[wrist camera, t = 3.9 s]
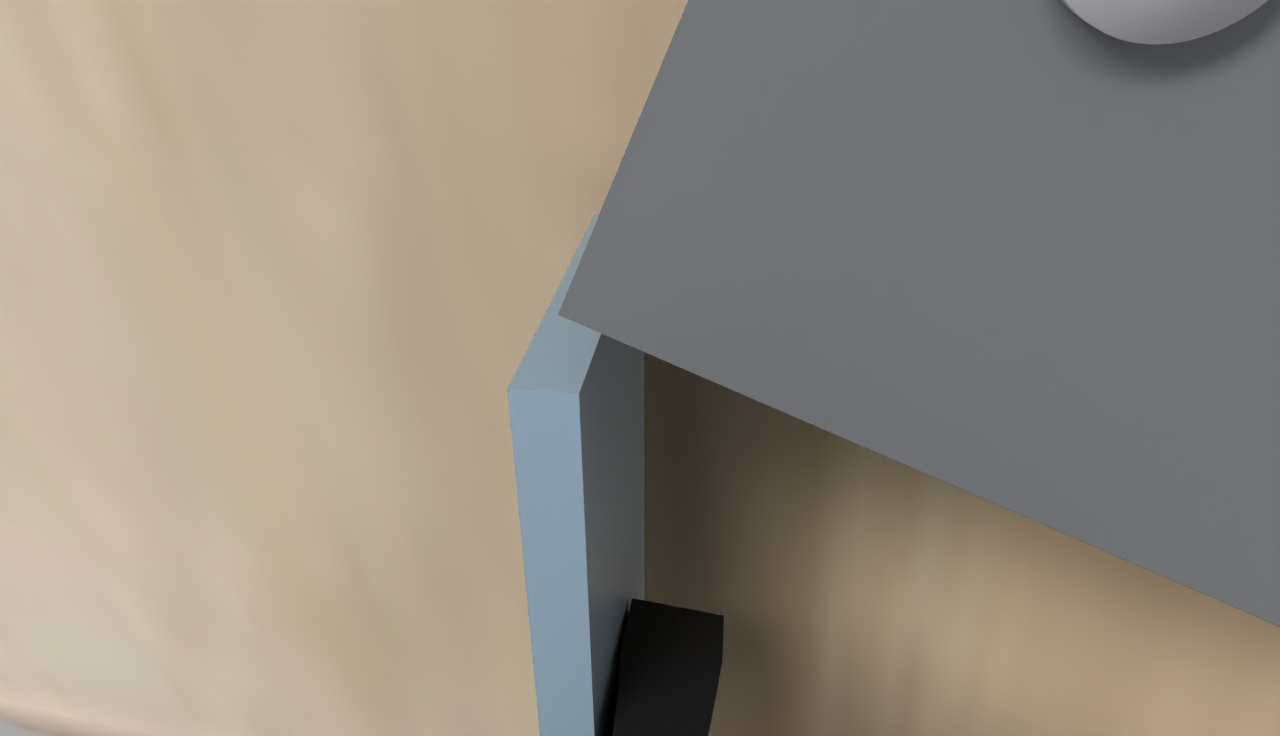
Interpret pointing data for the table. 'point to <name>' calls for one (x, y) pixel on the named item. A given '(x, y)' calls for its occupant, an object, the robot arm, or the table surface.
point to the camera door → (579, 510)
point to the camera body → (981, 252)
